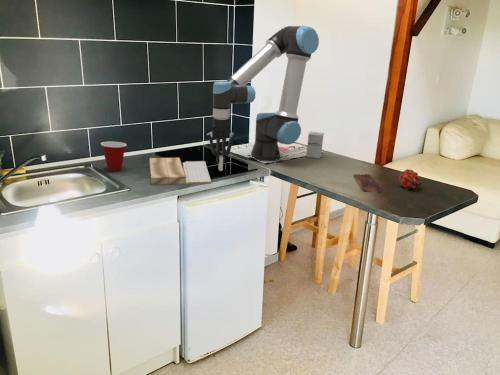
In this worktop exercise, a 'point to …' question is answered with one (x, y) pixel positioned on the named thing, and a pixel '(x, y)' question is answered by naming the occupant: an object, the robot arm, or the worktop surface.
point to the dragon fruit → (409, 179)
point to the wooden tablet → (368, 183)
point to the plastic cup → (114, 154)
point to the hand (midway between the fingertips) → (220, 169)
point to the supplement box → (314, 144)
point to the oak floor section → (167, 171)
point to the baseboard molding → (196, 172)
